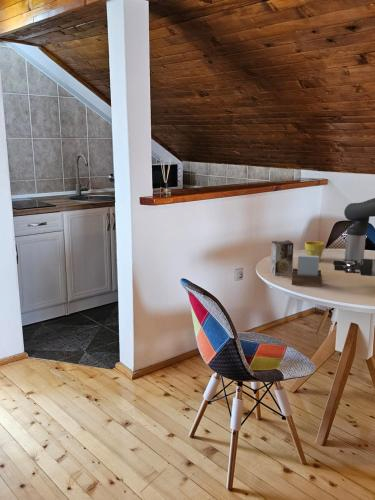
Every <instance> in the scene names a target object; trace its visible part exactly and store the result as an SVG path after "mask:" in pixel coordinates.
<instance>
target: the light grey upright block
mask: <svg viewBox="0 0 375 500" xmlns="http://www.w3.org/2000/svg"><path fill="white" fill-rule="evenodd" d="M297 258H298V259H297V269H298V271H297V275H306V276H318V270H319V265H320V264H319V263H320V261H319V256H311V255H307V254H298V257H297Z"/></svg>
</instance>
